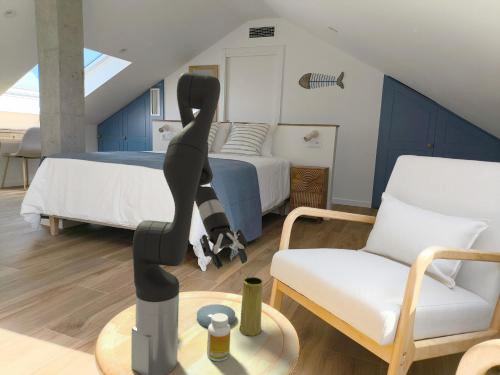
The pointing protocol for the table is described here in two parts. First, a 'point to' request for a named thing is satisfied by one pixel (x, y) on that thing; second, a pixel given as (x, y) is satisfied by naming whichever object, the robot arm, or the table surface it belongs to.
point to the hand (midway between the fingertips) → (233, 264)
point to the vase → (251, 306)
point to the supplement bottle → (218, 338)
